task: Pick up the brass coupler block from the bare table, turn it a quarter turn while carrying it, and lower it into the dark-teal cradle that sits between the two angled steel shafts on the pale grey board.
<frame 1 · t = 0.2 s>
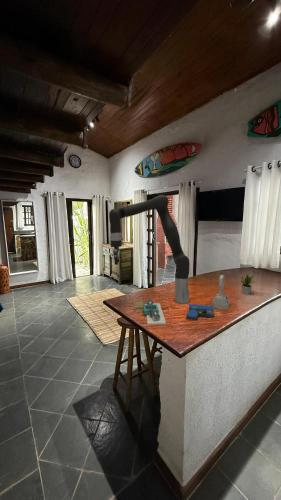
hand: (116, 263, 142), 28 cm above the table, fingers open, 8 cm apart
shaft a: (149, 306, 137), resting on base plate
stun gun: (200, 316, 125), on the table
shaft b: (154, 318, 121), resting on base plate
base plate: (154, 313, 129), on the table
coupler: (139, 310, 134), on the table
house plant: (247, 294, 159), on the table
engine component: (221, 306, 138), on the table
cradle: (150, 312, 129), resting on base plate
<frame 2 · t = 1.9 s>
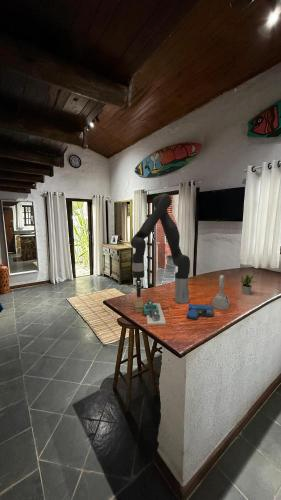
hand: (138, 294, 132), 10 cm above the table, fingers open, 8 cm apart
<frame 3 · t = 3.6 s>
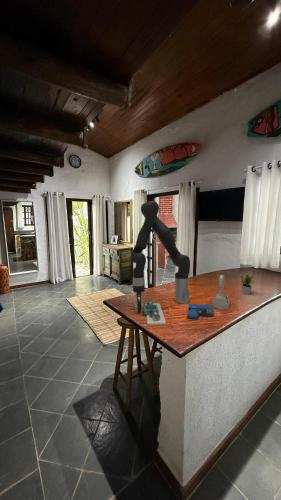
hand: (139, 309, 134), 0 cm above the table, fingers closed on coupler, 5 cm apart
coupler: (139, 310, 134), on the table, touching gripper
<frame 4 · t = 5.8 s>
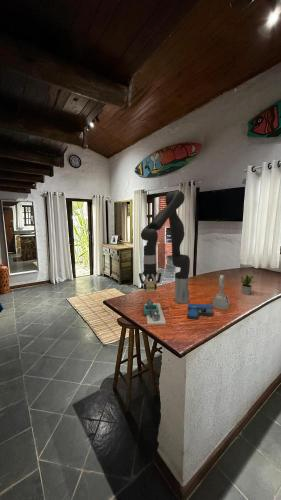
hand: (150, 289, 127), 15 cm above the table, fingers closed on coupler, 5 cm apart
coupler: (150, 290, 128), point 14 cm above the table, touching gripper
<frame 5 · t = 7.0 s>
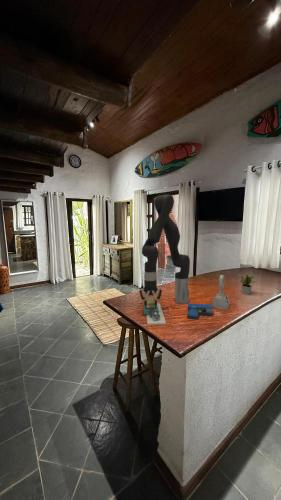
hand: (150, 305, 128), 5 cm above the table, fingers closed on coupler, 5 cm apart
coupler: (150, 306, 129), point 4 cm above the table, touching gripper
when the fingers open (5 cm above the table, at t = 7.8 s): coupler drops 3 cm, resting on cradle.
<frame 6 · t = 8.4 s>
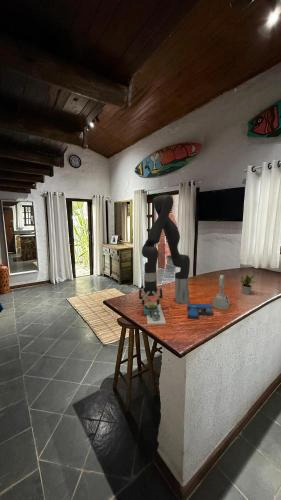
hand: (150, 305, 128), 5 cm above the table, fingers open, 8 cm apart
coupler: (150, 311, 129), point 1 cm above the table, touching cradle
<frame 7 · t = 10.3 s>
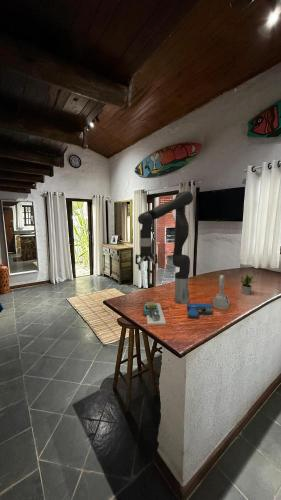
hand: (146, 270, 135), 25 cm above the table, fingers open, 8 cm apart
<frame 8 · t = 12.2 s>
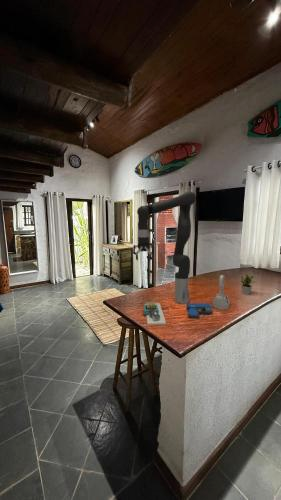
hand: (143, 260, 143), 30 cm above the table, fingers open, 8 cm apart
at the end: coupler 0.2 cm off-centre on the cradle, point 0.5 cm above the cradle's base; coupler tilted 0°; the gripper is holding nothing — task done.
